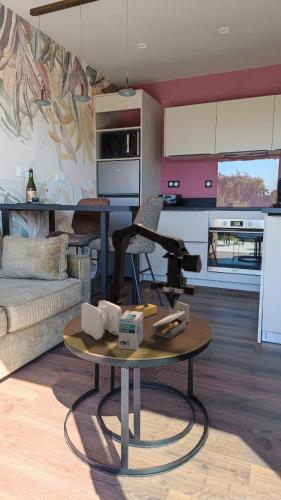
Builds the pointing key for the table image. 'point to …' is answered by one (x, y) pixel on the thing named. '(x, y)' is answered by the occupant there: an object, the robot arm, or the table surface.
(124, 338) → the light bulb box
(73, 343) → the table surface
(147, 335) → the table surface
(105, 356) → the table surface
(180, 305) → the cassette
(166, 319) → the white rectangular panel
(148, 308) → the rubber stamp
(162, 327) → the cable duct
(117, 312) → the cable organizer
